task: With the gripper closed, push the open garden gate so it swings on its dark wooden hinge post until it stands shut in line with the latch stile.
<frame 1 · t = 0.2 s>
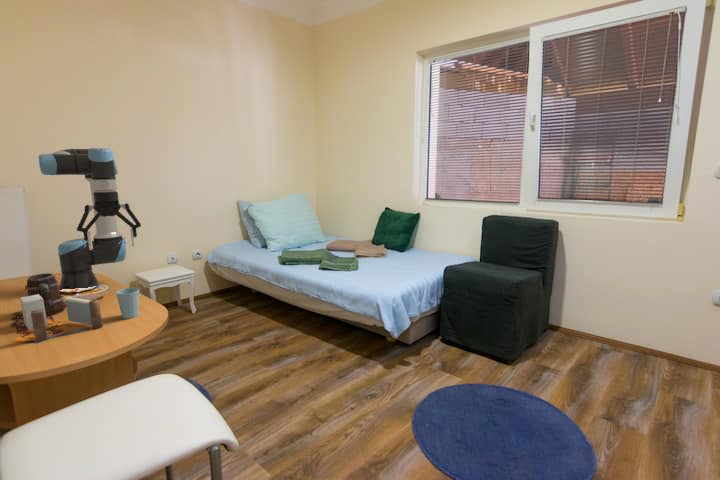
hand: (112, 247, 147), 27 cm above the table, fingers open, 13 cm apart
gate posts: (97, 327, 141), on the table
gate: (79, 310, 142), point 5 cm above the table, hinge at -55.0°
mug: (47, 313, 154), on the table
small box: (36, 325, 143), on the table
cup: (130, 316, 151), on the table
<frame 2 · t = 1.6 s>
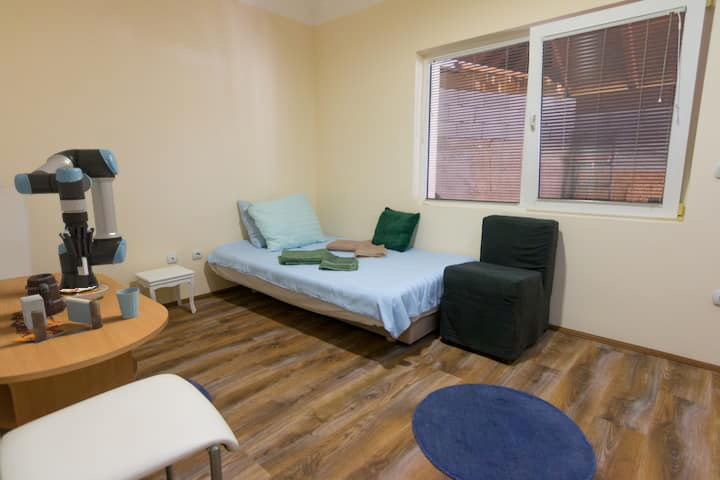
hand: (83, 274, 144), 18 cm above the table, fingers closed
nothing on the table moved.
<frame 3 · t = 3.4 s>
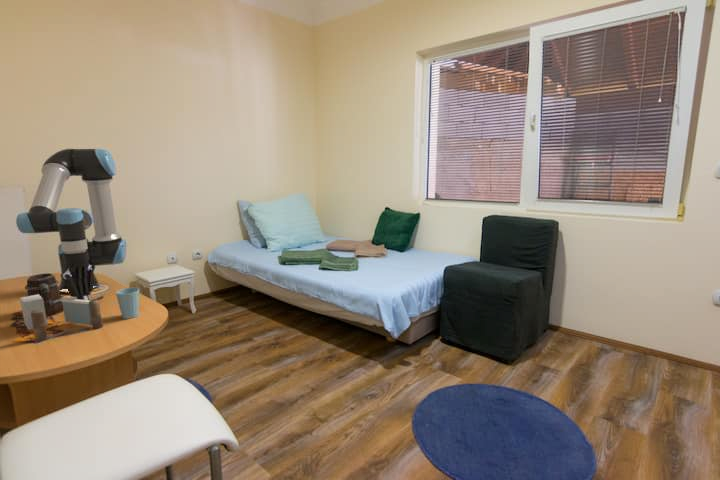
hand: (85, 312, 146), 4 cm above the table, fingers closed
gate: (77, 311, 141), point 5 cm above the table, hinge at -49.8°, touching gripper
everything else where it was.
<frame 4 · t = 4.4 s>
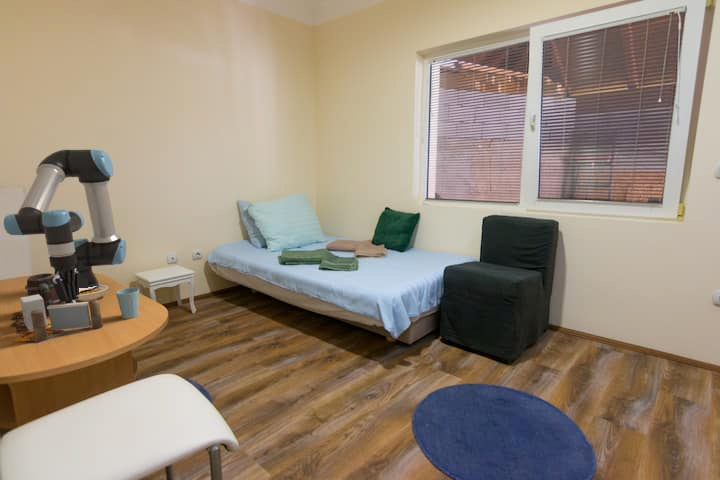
hand: (73, 317, 141), 4 cm above the table, fingers closed
gate: (69, 316, 137), point 5 cm above the table, hinge at -18.7°, touching gripper
everything else where it was.
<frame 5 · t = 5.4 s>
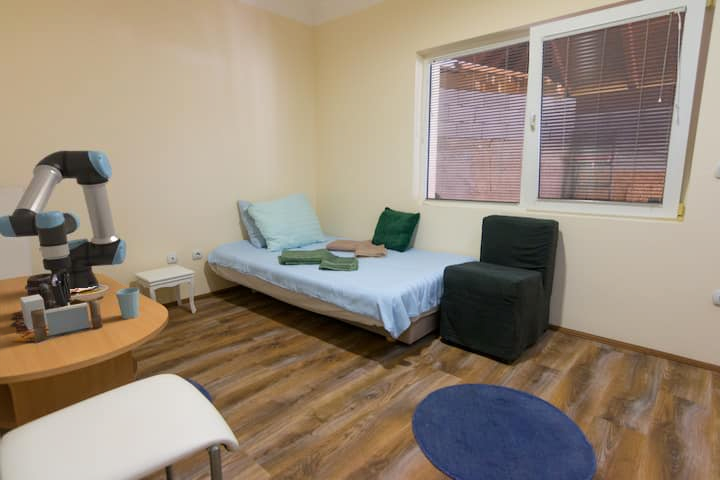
hand: (67, 320, 138), 3 cm above the table, fingers closed
gate: (68, 318, 135), point 5 cm above the table, hinge at 1.0°, touching gripper
everything else where it was.
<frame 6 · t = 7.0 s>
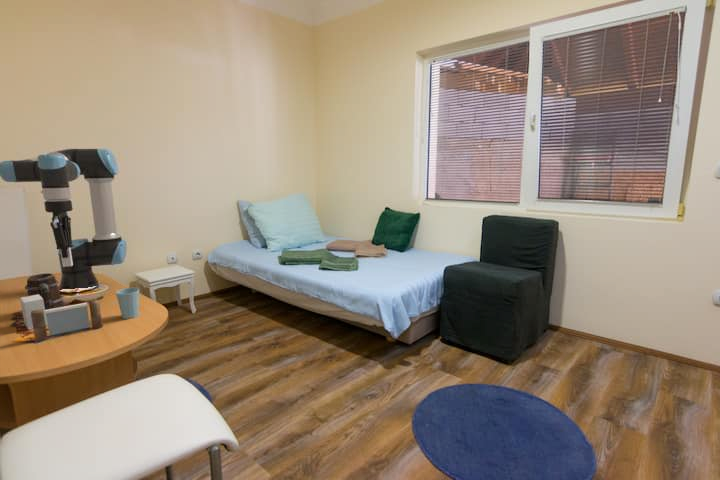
hand: (67, 265, 139), 22 cm above the table, fingers closed
gate: (68, 318, 135), point 5 cm above the table, hinge at 1.1°
everything else where it was.
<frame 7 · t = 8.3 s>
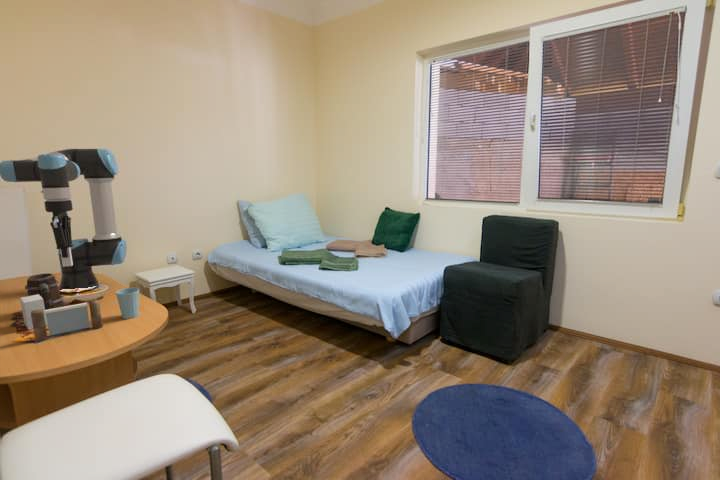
hand: (67, 265, 139), 22 cm above the table, fingers closed
nothing on the table moved.
at the end: gate at +1° (first picture: -55°) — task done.
